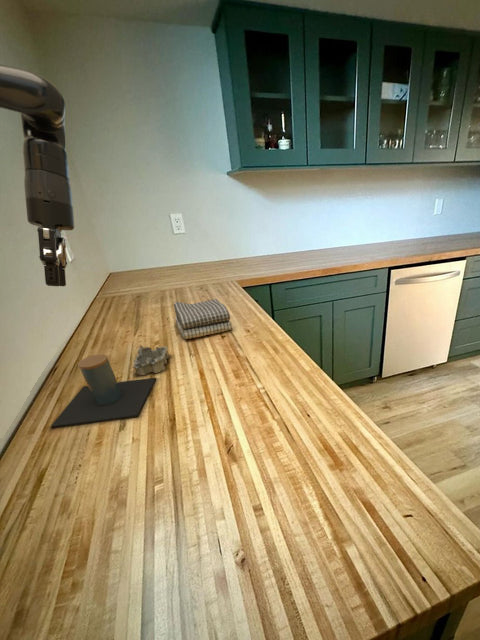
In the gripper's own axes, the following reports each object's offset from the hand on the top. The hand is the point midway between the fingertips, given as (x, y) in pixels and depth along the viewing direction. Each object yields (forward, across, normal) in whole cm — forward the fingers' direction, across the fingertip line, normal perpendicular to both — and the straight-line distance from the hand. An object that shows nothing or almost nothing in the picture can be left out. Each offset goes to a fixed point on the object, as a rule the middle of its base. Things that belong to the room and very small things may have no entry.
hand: (56, 286), depth 70 cm
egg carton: (+19, -7, +19) cm, 27 cm away
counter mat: (+24, +5, +9) cm, 26 cm away
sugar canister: (+24, +5, +9) cm, 25 cm away
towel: (+10, -24, +35) cm, 44 cm away
